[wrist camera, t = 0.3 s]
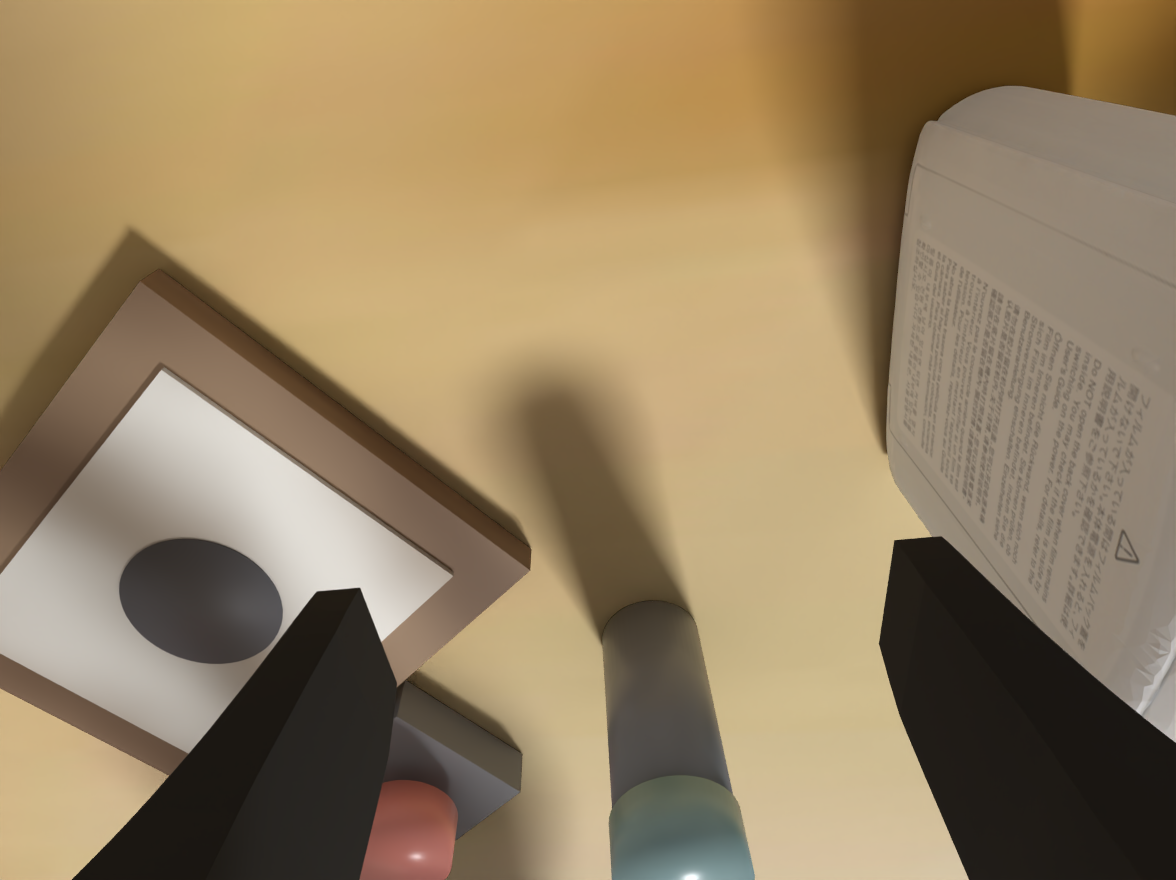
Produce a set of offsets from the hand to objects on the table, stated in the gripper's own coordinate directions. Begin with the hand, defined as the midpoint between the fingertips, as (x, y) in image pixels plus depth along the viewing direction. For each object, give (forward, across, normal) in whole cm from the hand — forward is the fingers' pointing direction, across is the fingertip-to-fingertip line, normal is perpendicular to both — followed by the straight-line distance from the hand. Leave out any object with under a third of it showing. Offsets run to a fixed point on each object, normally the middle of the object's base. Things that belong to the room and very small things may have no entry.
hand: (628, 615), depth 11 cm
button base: (+8, +8, +15) cm, 19 cm away
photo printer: (+11, -9, +2) cm, 14 cm away
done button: (+6, +8, +15) cm, 18 cm away
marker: (+9, 0, +11) cm, 15 cm away
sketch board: (+9, +12, +7) cm, 17 cm away
